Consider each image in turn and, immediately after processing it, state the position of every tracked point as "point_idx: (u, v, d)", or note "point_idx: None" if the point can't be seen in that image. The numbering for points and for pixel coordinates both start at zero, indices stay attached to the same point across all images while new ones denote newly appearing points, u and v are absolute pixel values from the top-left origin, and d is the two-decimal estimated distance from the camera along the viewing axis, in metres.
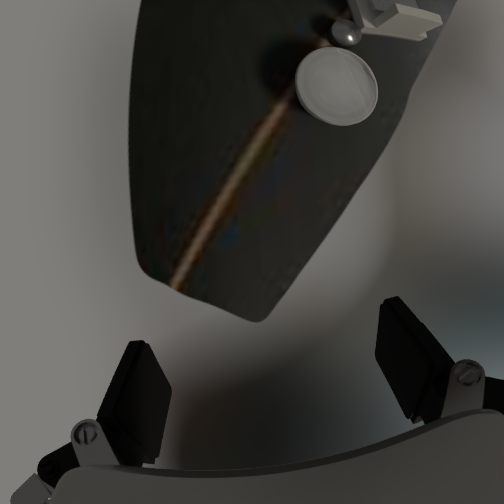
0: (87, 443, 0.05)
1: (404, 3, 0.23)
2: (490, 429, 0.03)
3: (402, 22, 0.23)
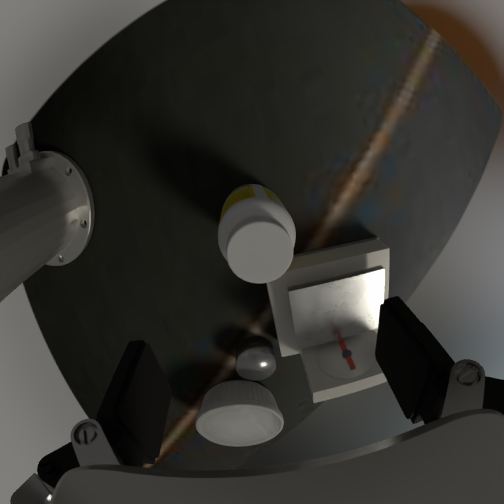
0: (87, 443, 0.05)
1: (358, 314, 0.24)
2: (490, 429, 0.03)
3: None
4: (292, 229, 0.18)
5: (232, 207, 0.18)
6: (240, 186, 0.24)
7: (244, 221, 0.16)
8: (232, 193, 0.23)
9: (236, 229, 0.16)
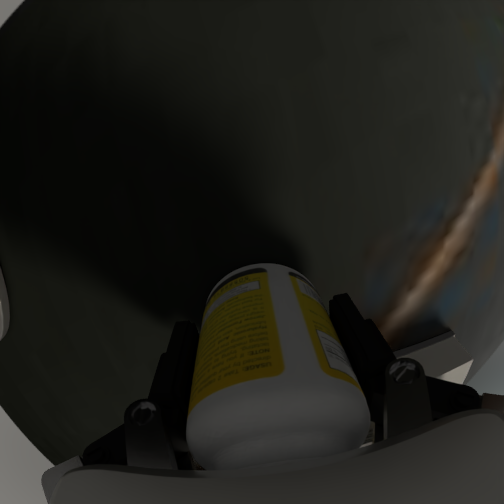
0: (140, 423, 0.06)
1: None
2: (490, 429, 0.03)
3: None
4: (366, 433, 0.06)
5: (219, 403, 0.06)
6: (241, 268, 0.11)
7: None
8: (223, 292, 0.10)
9: None
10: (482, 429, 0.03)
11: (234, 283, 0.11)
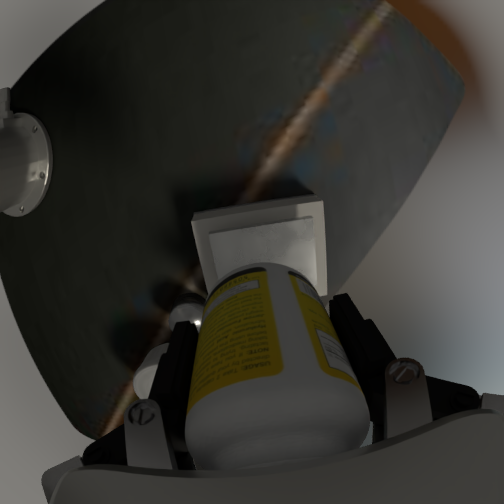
0: (140, 423, 0.06)
1: None
2: (490, 429, 0.03)
3: None
4: (366, 433, 0.06)
5: (217, 402, 0.06)
6: (241, 268, 0.11)
7: None
8: (223, 291, 0.10)
9: None
10: (482, 429, 0.03)
11: (233, 282, 0.11)
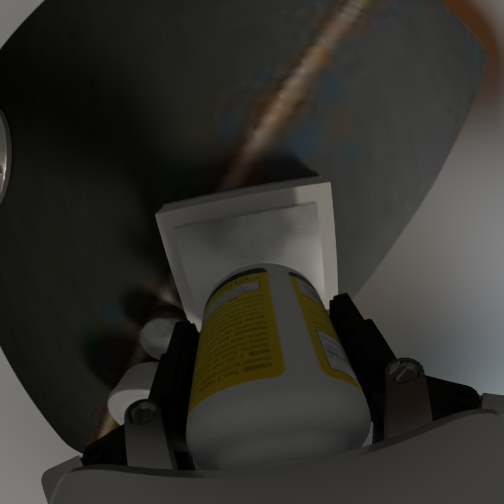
0: (140, 423, 0.06)
1: None
2: (490, 429, 0.03)
3: None
4: (366, 434, 0.06)
5: (218, 404, 0.06)
6: (241, 268, 0.11)
7: None
8: (223, 292, 0.10)
9: None
10: (482, 429, 0.03)
11: (234, 283, 0.11)
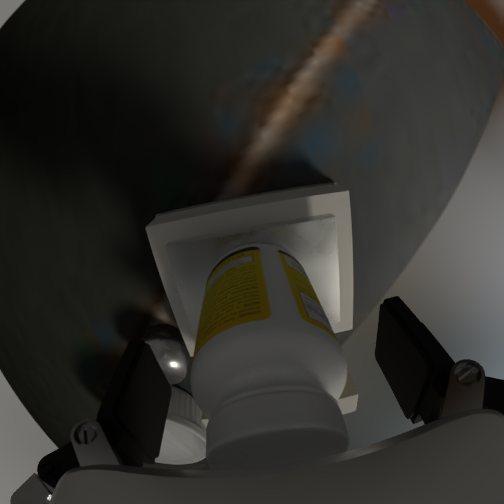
0: (87, 443, 0.05)
1: None
2: (490, 429, 0.03)
3: None
4: (343, 379, 0.08)
5: (219, 342, 0.08)
6: (238, 248, 0.13)
7: (246, 410, 0.06)
8: (223, 266, 0.12)
9: (227, 432, 0.06)
10: (482, 429, 0.03)
11: (232, 258, 0.13)
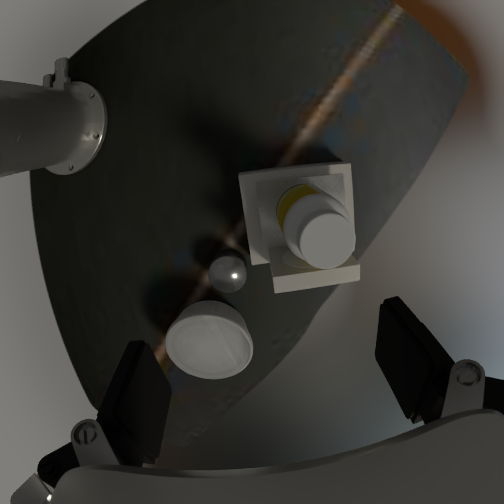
0: (87, 443, 0.05)
1: None
2: (490, 429, 0.03)
3: None
4: None
5: (301, 200, 0.20)
6: (295, 184, 0.26)
7: (317, 212, 0.18)
8: (289, 189, 0.25)
9: (310, 218, 0.18)
10: (482, 429, 0.03)
11: (294, 187, 0.25)
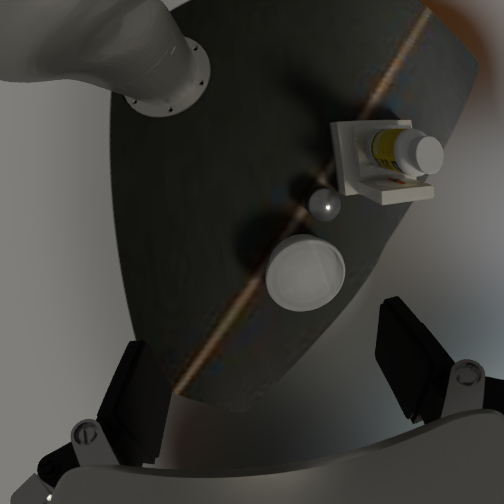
0: (87, 443, 0.05)
1: None
2: (490, 429, 0.03)
3: None
4: None
5: (405, 131, 0.24)
6: (382, 129, 0.30)
7: (421, 136, 0.22)
8: (382, 131, 0.29)
9: (420, 138, 0.22)
10: (482, 429, 0.03)
11: (384, 129, 0.29)
